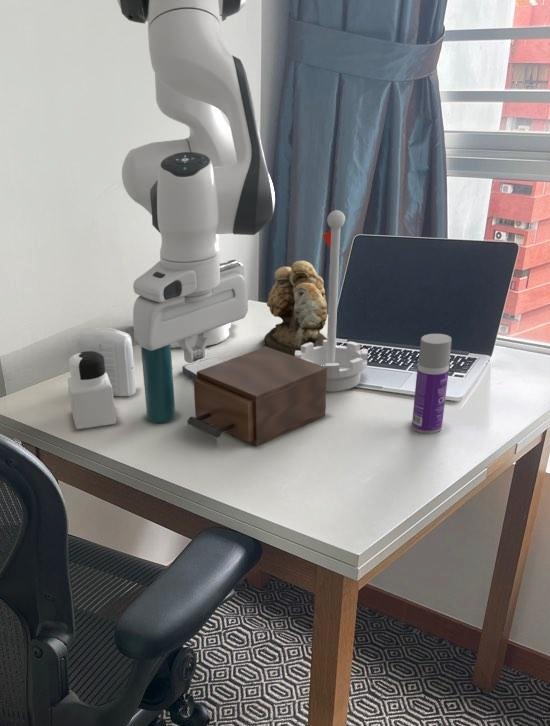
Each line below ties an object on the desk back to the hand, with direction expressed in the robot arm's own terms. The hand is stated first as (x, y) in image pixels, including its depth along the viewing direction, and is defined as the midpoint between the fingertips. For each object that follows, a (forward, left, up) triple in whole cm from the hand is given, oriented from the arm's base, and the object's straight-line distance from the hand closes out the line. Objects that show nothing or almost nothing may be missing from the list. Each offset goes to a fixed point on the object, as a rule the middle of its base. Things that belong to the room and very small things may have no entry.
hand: (194, 359), depth 133 cm
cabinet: (+3, +12, -13) cm, 18 cm away
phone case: (-15, +18, -14) cm, 27 cm away
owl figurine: (-17, +40, -14) cm, 45 cm away
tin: (-10, 0, -13) cm, 17 cm away
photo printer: (-26, 0, -14) cm, 29 cm away
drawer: (+3, +8, -12) cm, 15 cm away
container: (+25, +28, -14) cm, 40 cm away
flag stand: (0, +32, -14) cm, 35 cm away
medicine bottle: (-18, -9, -14) cm, 24 cm away
